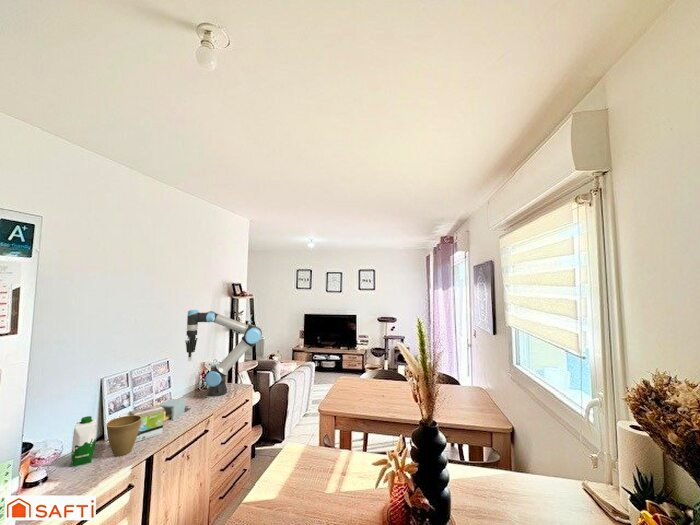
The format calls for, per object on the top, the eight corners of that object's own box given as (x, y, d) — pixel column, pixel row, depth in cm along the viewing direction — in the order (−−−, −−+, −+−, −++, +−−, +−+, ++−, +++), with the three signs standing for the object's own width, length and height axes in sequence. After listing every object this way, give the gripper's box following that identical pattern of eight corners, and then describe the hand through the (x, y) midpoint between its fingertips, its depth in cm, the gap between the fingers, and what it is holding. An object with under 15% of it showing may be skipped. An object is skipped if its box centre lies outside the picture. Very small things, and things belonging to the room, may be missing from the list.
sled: (175, 409, 215) (176, 400, 216) (183, 410, 215) (183, 400, 215) (150, 425, 191) (151, 414, 191) (159, 425, 190) (159, 414, 191)
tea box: (133, 443, 170) (135, 415, 171) (126, 438, 176) (128, 411, 177) (163, 434, 181) (164, 407, 183) (156, 429, 188) (157, 403, 189)
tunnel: (180, 406, 224) (181, 393, 225) (194, 406, 224) (194, 393, 225) (147, 425, 192) (148, 410, 192) (163, 426, 191) (164, 411, 192)
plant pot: (144, 444, 169) (147, 414, 170) (130, 459, 154) (132, 425, 156) (114, 446, 166) (117, 415, 168) (96, 461, 152) (99, 427, 153)
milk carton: (94, 455, 158) (98, 414, 159) (93, 463, 150) (96, 420, 152) (71, 460, 153) (75, 418, 154) (69, 469, 145) (73, 424, 147)
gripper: (192, 328, 248) (190, 359, 246) (182, 331, 235) (180, 362, 233) (201, 329, 247) (199, 359, 245) (191, 331, 234) (190, 363, 232)
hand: (190, 361), depth 239 cm, fingers closed
